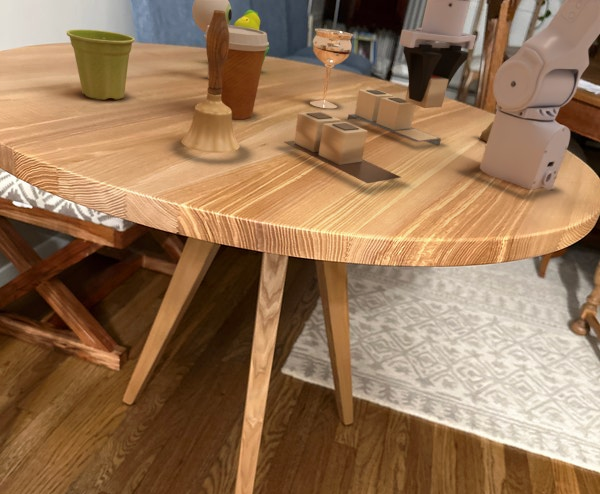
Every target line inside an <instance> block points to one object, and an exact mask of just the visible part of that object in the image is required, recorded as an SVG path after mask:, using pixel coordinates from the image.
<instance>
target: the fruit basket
mask: <svg viewBox="0 0 600 494" xmlns="http://www.w3.org/2000/svg"><path fill="white" fill-rule="evenodd" d="M260 25H261V19H260V17H259V13H258V12H257V11H254V10H252V9H248V10H247V11H245V13H244V14H243V16H241V17H239V18H238V19H236V21H235V22H234V24H233V26H240V27H246V28H252V29H256V30H260ZM269 49H270V46H267V50H265V55H264V60H263V64H264V62H265V59H266V57H267V53H268V52H269ZM263 64H262V66H263Z"/></svg>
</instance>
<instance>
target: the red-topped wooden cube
mask: <svg viewBox="0 0 600 494" xmlns="http://www.w3.org/2000/svg"><path fill="white" fill-rule="evenodd" d="M448 80H449V79H446V78H443V77H439V76H436V75H433V74H432V75H431V77H430V80H429V83H428V87H427V90H426V92H425V95H424V97H423V100H422V102H418V101H415V100H412V99H409V84H408V85H407V90H406V94H405V98H404V99H405V101H406V102H409V103H412V104H415V105H416V107H417V106H418V107H420V108H424V109H430V108H431V109H433V108H442V106H443V104H444V100H445V96H446V92H447V89H448V87H447V84H448ZM446 88H447V89H446Z"/></svg>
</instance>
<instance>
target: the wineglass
mask: <svg viewBox="0 0 600 494" xmlns="http://www.w3.org/2000/svg"><path fill="white" fill-rule="evenodd" d="M314 32H315V36H314V38H313V40H312V50H313V53H314V55H315V57H316V58H317V59H318V60H319V61H320V62H321V63H323V64H324V67H325V68H326V69H325V78H324V88H323V96H322V97H323V98H322V99H319V100H312V101H310V102H309V105H311V106H314V107H317V108H321V109H337V108H338V106H337V104H334V103H332V102H331V101H328V100H327V99H326V98H327V92H328V88H329V82H330V76H331V71H332V69H333V68H334V67H335V66H336V65H338V64H339V65H340V64H341V63H343V62H344V61H345V60H346V59H348V58H349V56H350V54H351V52H352V47H353V45H352V40H351V39H352V38H353V36H354V34H352V33H350V32H346V31H342V30H336V29H329V28H314Z"/></svg>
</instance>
